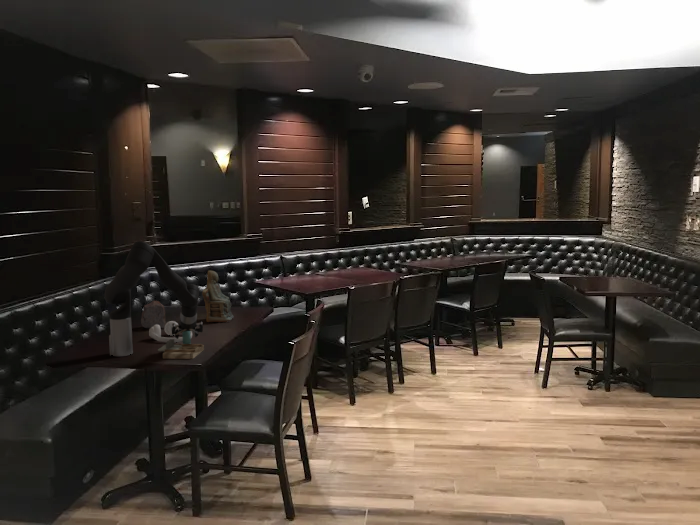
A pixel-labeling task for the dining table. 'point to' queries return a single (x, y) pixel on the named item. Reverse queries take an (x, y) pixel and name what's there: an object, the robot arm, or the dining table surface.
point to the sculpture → (216, 301)
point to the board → (183, 351)
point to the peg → (186, 337)
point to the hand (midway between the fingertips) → (186, 336)
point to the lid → (170, 345)
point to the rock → (153, 315)
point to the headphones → (156, 331)
